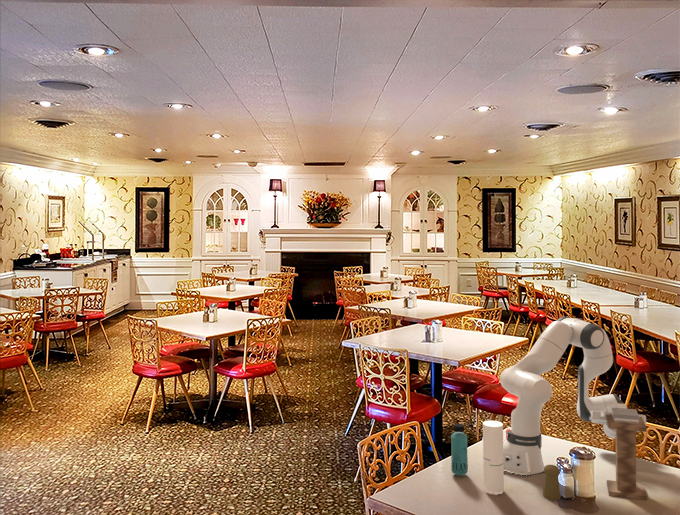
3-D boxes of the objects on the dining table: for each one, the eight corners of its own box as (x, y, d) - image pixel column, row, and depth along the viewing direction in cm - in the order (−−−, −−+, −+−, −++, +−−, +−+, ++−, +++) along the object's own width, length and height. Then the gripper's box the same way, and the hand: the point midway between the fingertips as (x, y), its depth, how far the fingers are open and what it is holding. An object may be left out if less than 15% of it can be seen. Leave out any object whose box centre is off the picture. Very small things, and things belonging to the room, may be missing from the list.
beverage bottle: (449, 477, 221) (448, 426, 221) (453, 471, 227) (452, 421, 227) (466, 479, 219) (465, 428, 218) (469, 473, 225) (468, 423, 224)
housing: (613, 422, 203) (613, 413, 203) (609, 407, 220) (609, 400, 220) (639, 424, 201) (638, 415, 200) (632, 409, 217) (632, 401, 217)
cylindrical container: (490, 485, 214) (489, 419, 213) (507, 490, 209) (506, 423, 208) (480, 491, 209) (478, 423, 208) (497, 497, 204) (496, 428, 203)
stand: (609, 496, 202) (608, 424, 201) (606, 482, 213) (605, 414, 213) (647, 501, 198) (646, 427, 197) (642, 487, 209) (641, 417, 208)
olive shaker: (562, 500, 200) (562, 469, 200) (544, 499, 201) (544, 468, 201) (559, 493, 206) (559, 463, 205) (541, 492, 207) (541, 462, 207)
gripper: (588, 412, 241) (590, 403, 230) (642, 416, 234) (647, 408, 222) (589, 427, 238) (590, 419, 227) (644, 432, 231) (648, 424, 220)
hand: (619, 414), depth 225 cm, fingers open, 8 cm apart
